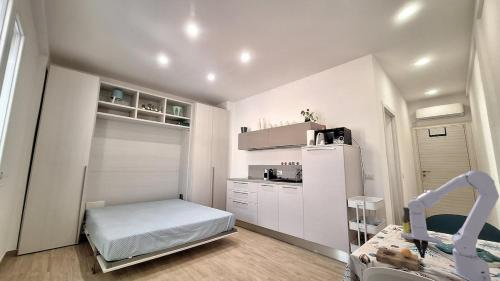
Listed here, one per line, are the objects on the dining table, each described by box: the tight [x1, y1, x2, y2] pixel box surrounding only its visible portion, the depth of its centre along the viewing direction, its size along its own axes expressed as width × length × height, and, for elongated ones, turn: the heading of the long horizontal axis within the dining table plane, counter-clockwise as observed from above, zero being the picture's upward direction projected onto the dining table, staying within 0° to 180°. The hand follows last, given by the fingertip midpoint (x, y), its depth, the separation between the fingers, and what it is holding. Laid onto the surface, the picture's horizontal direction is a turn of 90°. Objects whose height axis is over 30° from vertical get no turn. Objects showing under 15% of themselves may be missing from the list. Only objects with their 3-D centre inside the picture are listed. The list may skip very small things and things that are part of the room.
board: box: [375, 247, 419, 271], centre depth 99 cm, size 16×12×2 cm
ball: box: [400, 247, 413, 257], centre depth 96 cm, size 4×4×4 cm
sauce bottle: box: [401, 206, 414, 243], centre depth 125 cm, size 7×6×20 cm
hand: (422, 257), depth 93 cm, fingers closed
